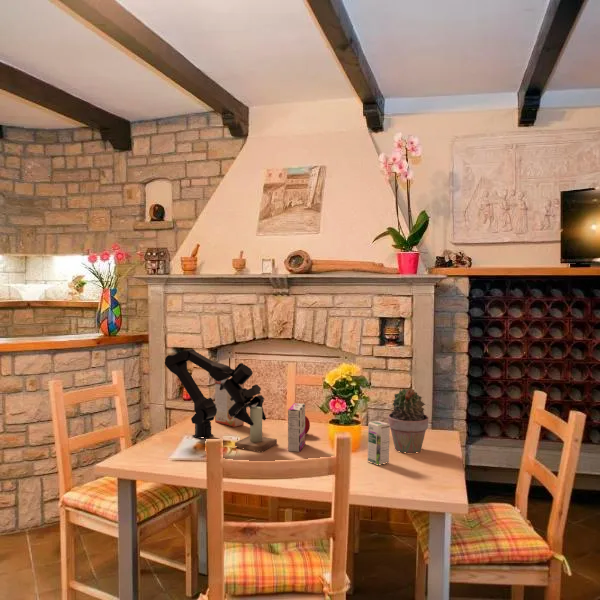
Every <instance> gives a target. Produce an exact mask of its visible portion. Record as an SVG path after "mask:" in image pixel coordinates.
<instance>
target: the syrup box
mask: <svg viewBox="0 0 600 600" xmlns="http://www.w3.org/2000/svg"><path fill="white" fill-rule="evenodd" d="M367 427H368V429H367V462H368V461H370V462H372V463H375V464H378V465H379V464H383V463H386V462H389V463H390V433H391V429H390V424H388V423H387V422H384V421H381V420H380V421H379V420H375V421H370V422H368V425H367ZM372 463H371V464H372Z"/></svg>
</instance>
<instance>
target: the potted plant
mask: <svg viewBox="0 0 600 600" xmlns="http://www.w3.org/2000/svg"><path fill="white" fill-rule="evenodd" d="M398 391H399V392H398V393H394V395H393V396H394V399H393V400H392V401H391V404H389V405H388V407H390V406H393V407H391V408H390V410H392V411H391V412H390V413H389V414H388V415H387V422H388V423H387V424H390V433H391V437H392V441H393V445H394V450H395V449H396V450H397V451H400V452H406V453H416V452H419V451H420V452H421V451H422V447H423V443H424V440H425V435H426V432H427V431H426V430H428V428H429V418H430V417H429V416H428V415H427V414H425V408H424V406H427V407H428V406H431V405H430V404H426V403H425V402H423V400H422V398H423V396H421V395H419V394H418V393H417V392H416V391H415V389H412V388H409V389H406V388H403V389H402V390H398ZM431 407H432V406H431ZM396 450H395V451H396ZM397 451H396V452H397ZM400 452H399V453H400ZM420 452H419V453H420ZM416 454H417V453H416Z"/></svg>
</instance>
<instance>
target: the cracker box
mask: <svg viewBox="0 0 600 600" xmlns="http://www.w3.org/2000/svg"><path fill="white" fill-rule="evenodd" d="M231 377H232V376H231ZM231 377H230V378H231ZM230 378H229V379H230ZM226 380H227V379H226ZM226 380H222V381H216V380H215V379H214V382H215V384H214V386H215V388H214V389H215V390H214V391H215V393H214V399H215V400H214V403H215V404H216V408H217V413H216V415H215V417H214V422H215V423H218V424H223V425H226V426H230V427H233V428H235V427H239V426H244V425H245V422H243V421H241V420H239V419H237V418H234V416H233V417H230V415H229V414H228V410H229V409H230V408H231V407H232V406H233V405H234V404H235V402H234V400H233V401H231V400H230V399H231V396H230V395H229V394H228V392H227V391H226V390H225V389H224V390H220V384H221V383H224V382H225V381H226ZM240 386H241V387H242V388H243V389H244V388H245V383H244V384H240Z"/></svg>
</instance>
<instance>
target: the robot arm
mask: <svg viewBox="0 0 600 600" xmlns="http://www.w3.org/2000/svg"><path fill="white" fill-rule="evenodd" d="M188 361H189V362H190V363H192V364H194V365H196V366H198V367H199V368H201V369H203V370H205V371H206V372H207V373H208V374H209V376H210V377H211V378H212V379H213V380H214V381H215V380H216V381H222V380H226V379H227V380H226V381H225V382H224V383H221V384H220V390H224V389H225V390H226V391H227V392H228V394H229V395H230V396H231V399H230V400H231V401H233V400H234V402H235V404H234V405H233V406H232V407H231V408H230V409H229V410H228V414H229V415H230V417H233V416H234V418H237V419H239V420H241V421H243V422H244V424H247V425H249V426H250V425H251V426H253V425H254V423H253V421H252V420H251V418H250V414H248V411H247V408H249V409H250V408H251V407H262V421H266V420H267V416H266V414H265V411H264V408H263V404H264V401H265V398H264V396H263V395H261V390H262V387H260V385H258V384H254V385H251V388H248V389H247V388H245V387H244V389H243V388H242V387H241V386H240V384H244V385H245V383H246V382H247V381H248V380H249V379H250V378H251V377H252V376H253V373H254V372H253V371H252V368H251V367H249V366H248V365H245V364H244V363H243V362H241V363H240V362H239V363H238V364H237V366H236V367H235V368H232V367H231V366H229V365H226V364H224V363H221V362H215V361H213V360H211V359H210V358H208V357H206V356H205V355H202V354H201V353H199V352H197V351H196V350H195V349H193V348H189V349H184V350H183V351H181V352H178V353H174V354H168V355H167V356H166V357H165V360H164V364H165V367H166V368H167V369H168V371H169V372H171V373H173V374H174V375H175V376H177V378H178V379H179V381H180V383H181V384H182V386H183V388H184V389H185V391H186V392H187V394H188V396H189V397H190V398H191V400H192V402H193V407H194V412H195V414H193V416H192V417H191V419H190V420H191V423H192V424H194V434H192V436H194V437H193V438H196V437H204V438H205V439H207V438H206V437H208V438H210V437H214V436H215V435H214V434H212V421H215V415H216V413H217V408H216V404H215V401H214V399H213V398H212V397H205V395H204V394H203V393H202V391H201V389H200V387H199V386H198V384H197V383H196V381H195V379H194V378H193V377H192V374H191V373H190V372H189V370H188V363H187V362H188ZM230 377H231V378H230ZM229 378H230V379H229ZM192 436H191V437H192Z"/></svg>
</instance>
